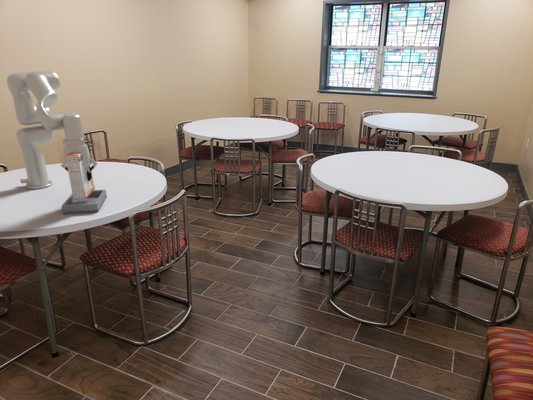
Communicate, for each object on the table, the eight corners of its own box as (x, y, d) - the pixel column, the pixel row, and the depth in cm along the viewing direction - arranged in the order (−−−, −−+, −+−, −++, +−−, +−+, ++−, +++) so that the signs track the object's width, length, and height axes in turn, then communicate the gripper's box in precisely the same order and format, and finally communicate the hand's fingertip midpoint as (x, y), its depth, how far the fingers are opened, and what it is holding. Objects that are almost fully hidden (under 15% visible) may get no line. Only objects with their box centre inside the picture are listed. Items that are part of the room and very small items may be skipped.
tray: (63, 214, 183) (61, 205, 181) (75, 198, 201) (73, 191, 200) (98, 211, 185) (97, 203, 184) (106, 197, 204) (105, 189, 202)
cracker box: (82, 189, 198) (75, 147, 190) (95, 189, 198) (88, 147, 191) (72, 199, 185) (64, 155, 177) (86, 199, 185) (78, 154, 178)
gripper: (52, 144, 178) (59, 183, 184) (94, 143, 181) (99, 181, 187) (57, 141, 185) (64, 178, 191) (97, 139, 187) (103, 177, 194)
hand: (82, 180), depth 189 cm, fingers closed on cracker box, 6 cm apart
